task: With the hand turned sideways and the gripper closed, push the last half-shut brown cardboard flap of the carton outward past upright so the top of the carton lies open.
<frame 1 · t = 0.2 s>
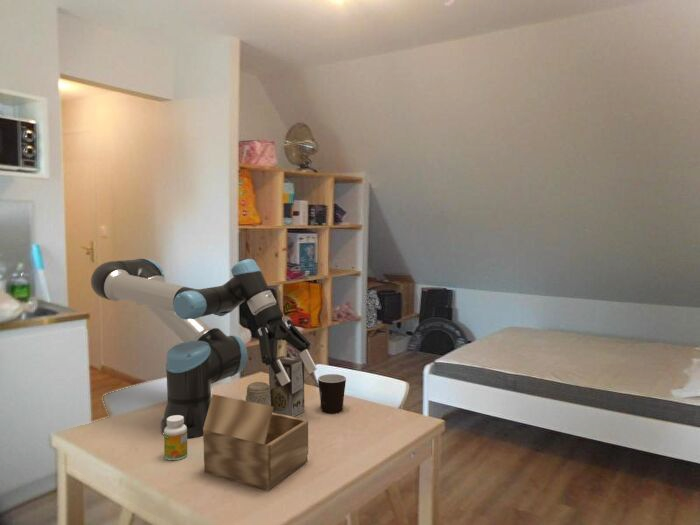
hand: (300, 377, 146), 15 cm above the table, tool tilted 35°, fingers open, 13 cm apart
carving: (258, 426, 150), on the table
coffee mug: (333, 409, 164), on the table
supplement bottle: (176, 457, 131), on the table
coffee box: (287, 412, 161), on the table
carton flap: (237, 418, 118), point 14 cm above the table, hinge at 65.0°
carton: (257, 466, 126), on the table
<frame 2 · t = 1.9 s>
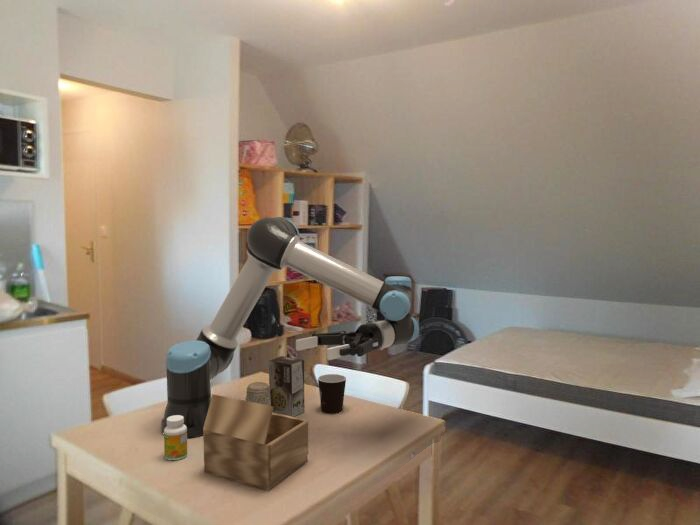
hand: (311, 349, 131), 26 cm above the table, tool horizontal, fingers open, 12 cm apart
nothing on the table moved.
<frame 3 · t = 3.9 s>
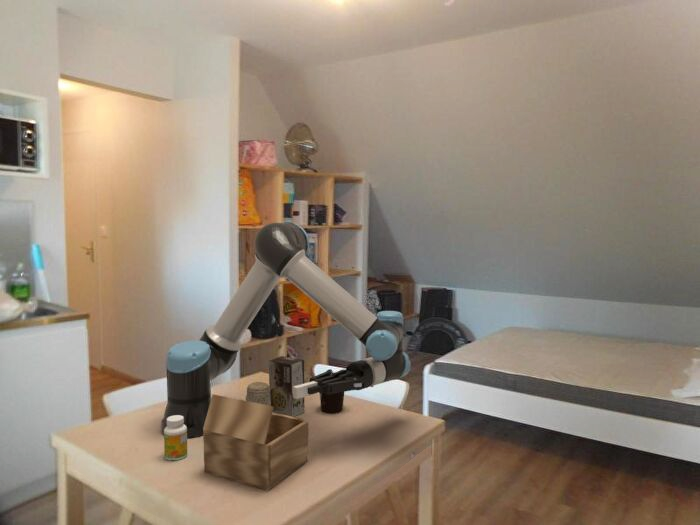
hand: (294, 392, 127), 17 cm above the table, tool horizontal, fingers closed
nothing on the table moved.
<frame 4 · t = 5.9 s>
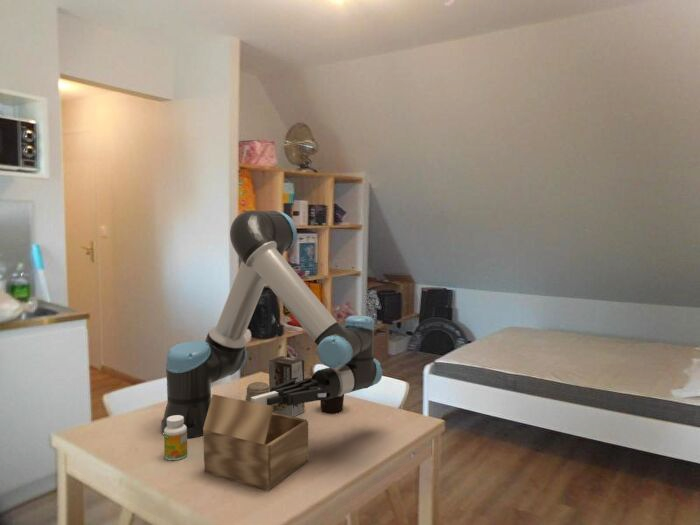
hand: (252, 403, 119), 17 cm above the table, tool horizontal, fingers closed
carton flap: (237, 418, 118), point 14 cm above the table, hinge at 65.0°, touching gripper
everything else where it was.
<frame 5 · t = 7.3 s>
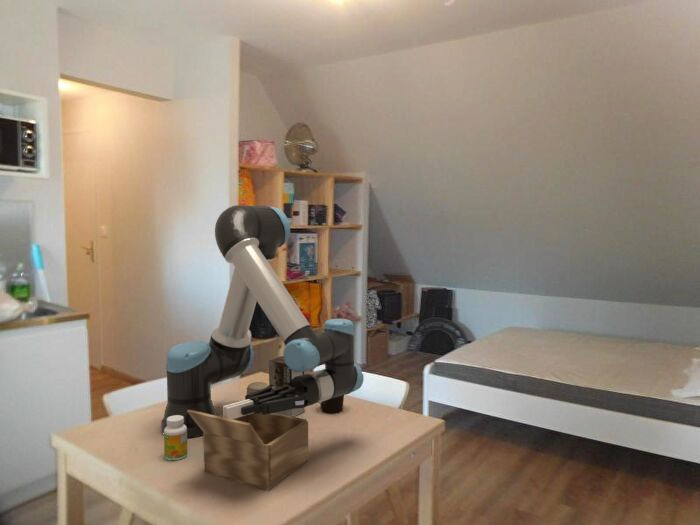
hand: (225, 413, 113), 17 cm above the table, tool horizontal, fingers closed
carton flap: (225, 427, 115), point 13 cm above the table, hinge at 127.4°, touching gripper
everything else where it was.
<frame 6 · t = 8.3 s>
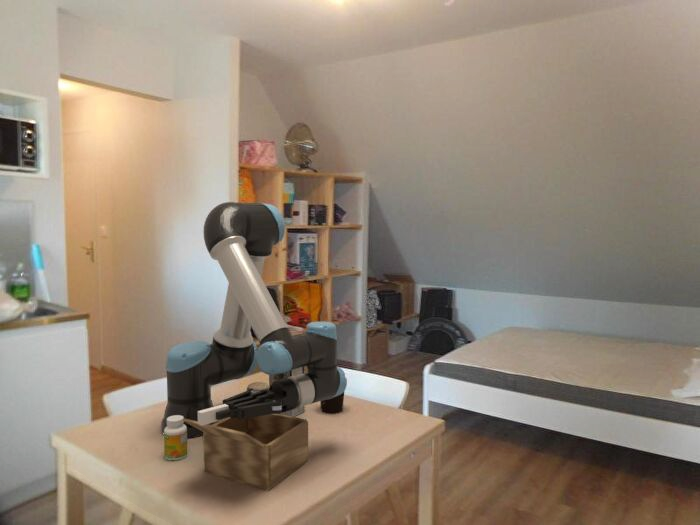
hand: (199, 418, 110), 17 cm above the table, tool horizontal, fingers closed
carton flap: (223, 432, 114), point 13 cm above the table, hinge at 142.3°
everything else where it was.
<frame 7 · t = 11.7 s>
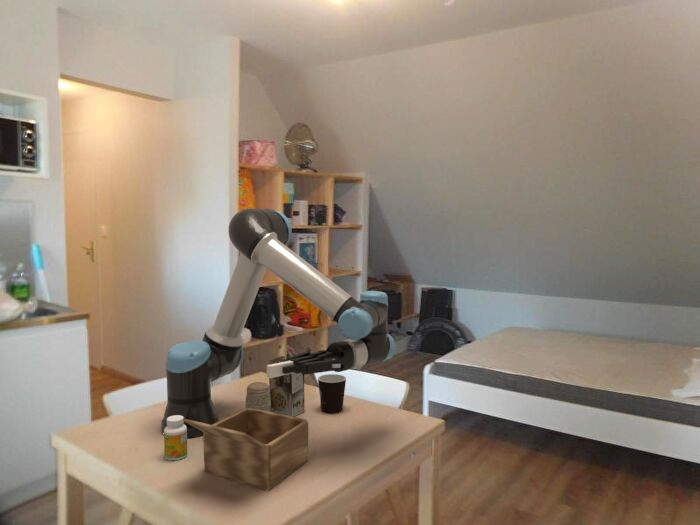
hand: (268, 371, 121), 24 cm above the table, tool horizontal, fingers closed
nothing on the table moved.
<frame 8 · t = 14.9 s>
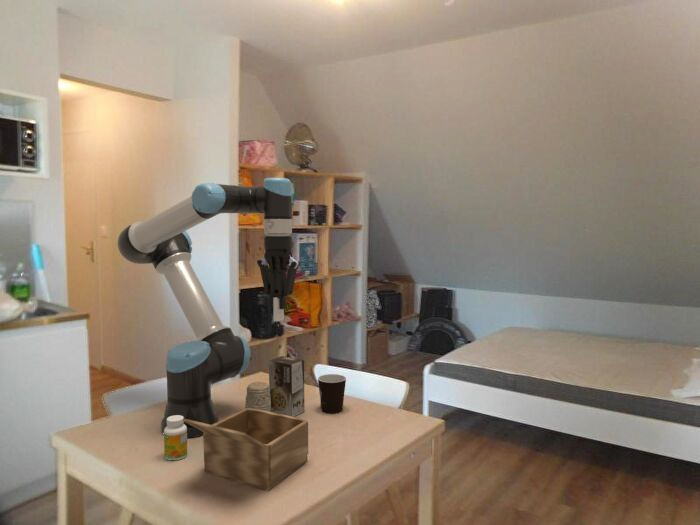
hand: (278, 320, 147), 30 cm above the table, tool pointing down, fingers closed
nothing on the table moved.
at the end: carton flap at +142° (first picture: +65°) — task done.
